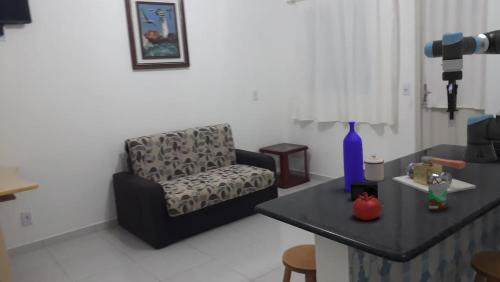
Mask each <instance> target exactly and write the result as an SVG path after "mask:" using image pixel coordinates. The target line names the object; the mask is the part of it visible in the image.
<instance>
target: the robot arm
mask: <svg viewBox="0 0 500 282" xmlns="http://www.w3.org/2000/svg"><path fill="white" fill-rule="evenodd" d="M423 52H424V55H425V56H426V58H427V59H428V58H429V59H431V58H432V59H434V58H435V59H436V58H442V62H441V63H440V66H442V67H441V69H442V71H443V72H442V73H441V76H442V77H441V79H442V81H443V82H447V81H448V82H447V85H446V86H445V87H446V88H445V89H446V95H447V96H446V97H447V98H446V99H447V100H446V101H447V109H446V113H448V116H447V118H448V120H447V121H448V124H447V126H448V128H456V127H457V112H459V109H458V108H457V107H458V106H457V104H458V103H457V100H458V99H457V98H458V97H457V96H458V88H459V84H457V81H462V80H463V74H464V73H463V68H464V61H463V56H473V55H500V29H496V30H492V31H491V30H490V31H488V32H484V33H478V34H475V35H473V36H472V35H471V36H464V34H463V32H462V31H451V32H446V33H443V34H442V39H438V40H431V41H428V42H426V43H425V44H424V48H423ZM494 142H499V143H500V110H499V111H498V112H497V113H496V114H495V116H494V114H493V113H492V114H490V113H489V114H488V113H487V114H480V115H472V116H469V117H468V118H467V122H466V147H465V149H464V152H463V154H462V161H464V162H468V163H478V164H479V163H480V164H481V163H482V164H484V163H493V162H496V161H497V160H498V157H497V156H498V155H497V154H496V151H495V148H494Z"/></svg>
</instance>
